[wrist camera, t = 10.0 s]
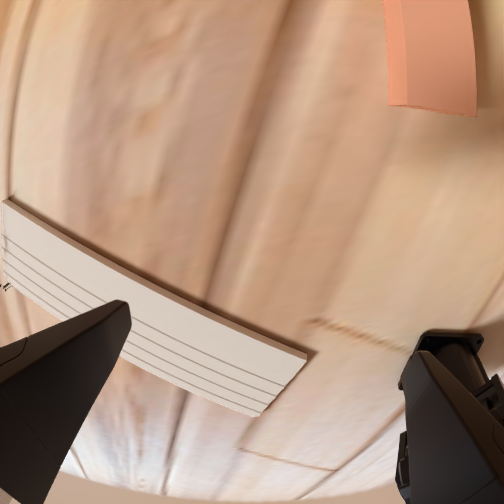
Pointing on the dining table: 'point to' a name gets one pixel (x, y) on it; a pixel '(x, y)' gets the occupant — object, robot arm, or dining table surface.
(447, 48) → the rail
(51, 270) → the baseboard
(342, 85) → the dining table surface
